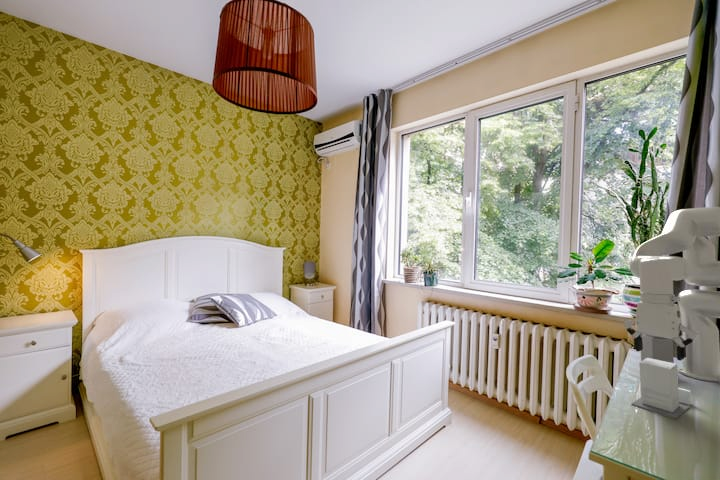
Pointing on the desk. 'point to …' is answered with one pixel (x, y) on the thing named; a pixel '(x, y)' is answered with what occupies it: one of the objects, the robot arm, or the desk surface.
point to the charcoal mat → (674, 414)
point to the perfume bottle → (657, 348)
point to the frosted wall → (683, 395)
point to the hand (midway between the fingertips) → (659, 354)
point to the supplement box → (659, 384)
